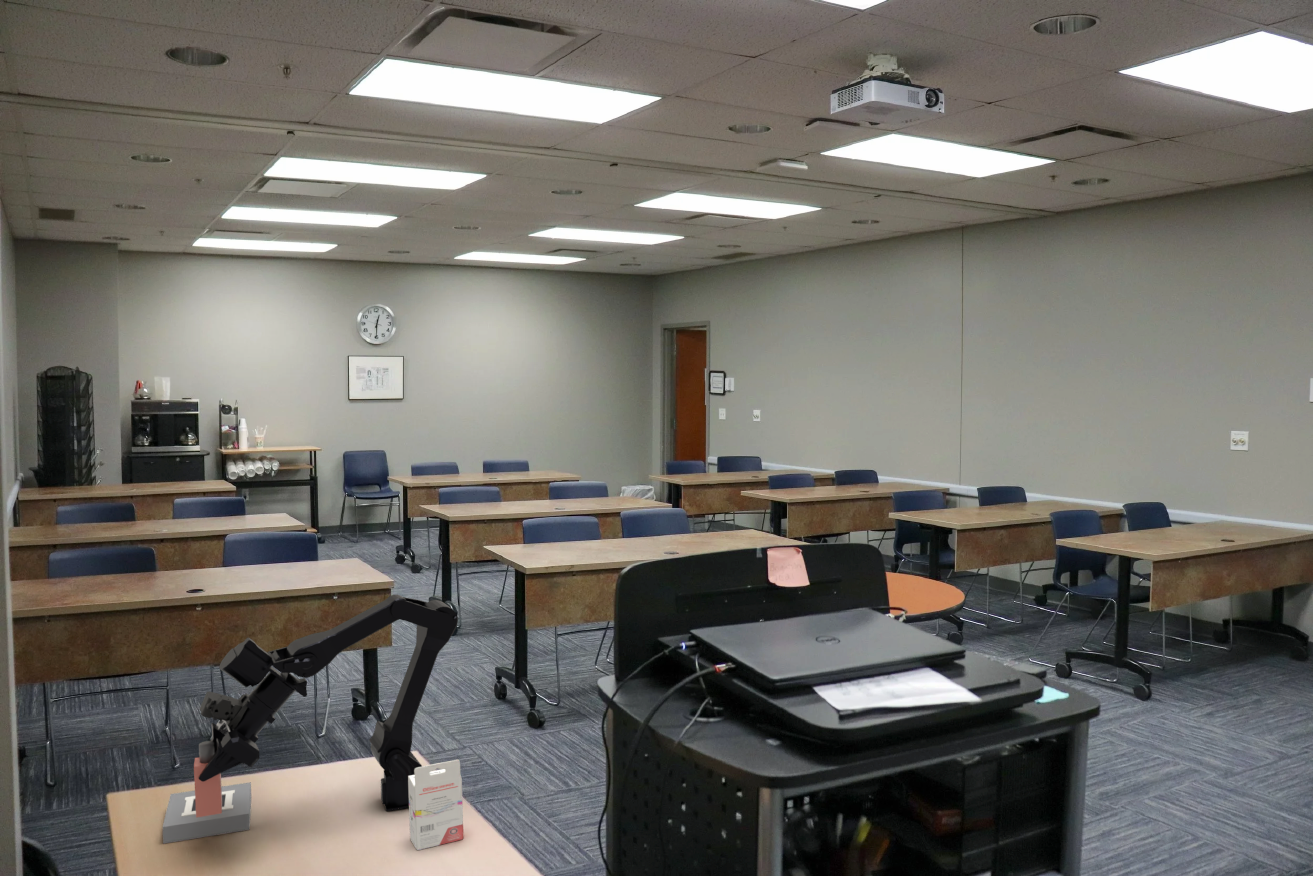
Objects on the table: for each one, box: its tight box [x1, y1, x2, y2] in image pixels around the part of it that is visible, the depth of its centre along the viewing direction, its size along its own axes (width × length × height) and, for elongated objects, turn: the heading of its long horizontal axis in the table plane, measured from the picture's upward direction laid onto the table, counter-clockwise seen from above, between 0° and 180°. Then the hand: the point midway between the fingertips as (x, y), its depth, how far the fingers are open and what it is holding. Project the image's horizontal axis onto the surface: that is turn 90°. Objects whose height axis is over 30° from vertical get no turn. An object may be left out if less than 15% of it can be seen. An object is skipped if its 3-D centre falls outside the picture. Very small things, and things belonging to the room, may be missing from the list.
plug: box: [193, 740, 222, 818], centre depth 169 cm, size 4×4×12 cm
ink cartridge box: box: [408, 759, 464, 851], centre depth 171 cm, size 9×5×15 cm, turn 118°
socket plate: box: [162, 782, 252, 845], centre depth 179 cm, size 14×14×3 cm
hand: (199, 775), depth 168 cm, fingers closed on plug, 4 cm apart
